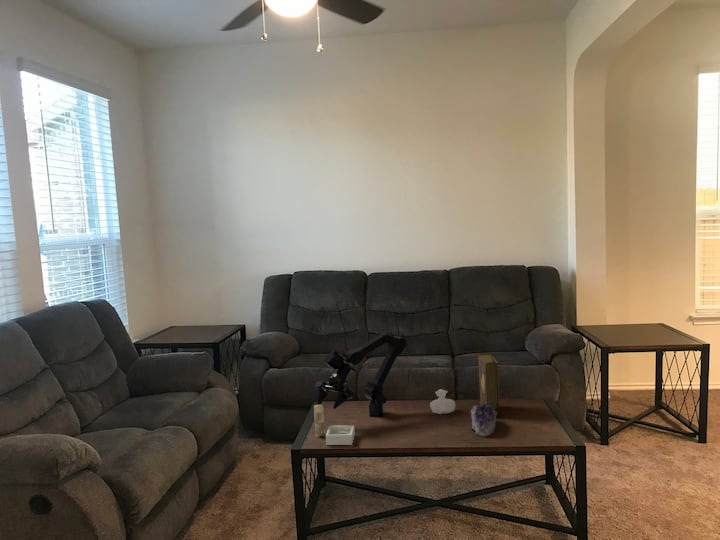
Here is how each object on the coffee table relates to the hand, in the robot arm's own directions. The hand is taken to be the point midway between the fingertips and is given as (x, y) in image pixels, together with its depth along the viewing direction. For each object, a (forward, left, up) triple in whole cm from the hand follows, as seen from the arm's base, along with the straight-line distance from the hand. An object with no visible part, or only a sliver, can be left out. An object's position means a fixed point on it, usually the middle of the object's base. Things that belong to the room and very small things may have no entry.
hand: (325, 406), depth 232 cm
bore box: (-9, +8, -11) cm, 17 cm away
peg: (+2, +4, -11) cm, 12 cm away
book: (-65, -38, -12) cm, 76 cm away
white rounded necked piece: (-44, -34, -12) cm, 57 cm away
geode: (-65, -17, -12) cm, 68 cm away
